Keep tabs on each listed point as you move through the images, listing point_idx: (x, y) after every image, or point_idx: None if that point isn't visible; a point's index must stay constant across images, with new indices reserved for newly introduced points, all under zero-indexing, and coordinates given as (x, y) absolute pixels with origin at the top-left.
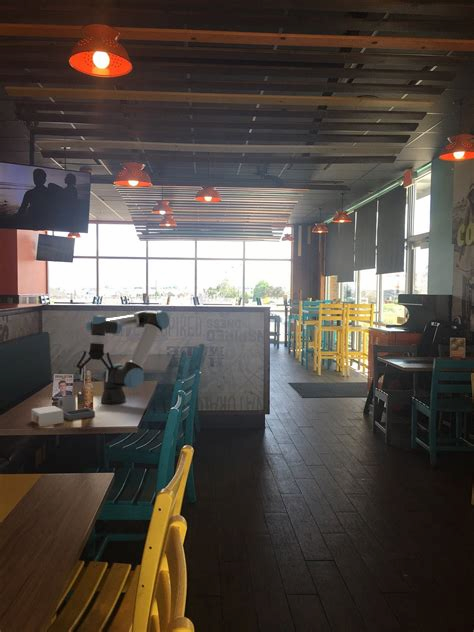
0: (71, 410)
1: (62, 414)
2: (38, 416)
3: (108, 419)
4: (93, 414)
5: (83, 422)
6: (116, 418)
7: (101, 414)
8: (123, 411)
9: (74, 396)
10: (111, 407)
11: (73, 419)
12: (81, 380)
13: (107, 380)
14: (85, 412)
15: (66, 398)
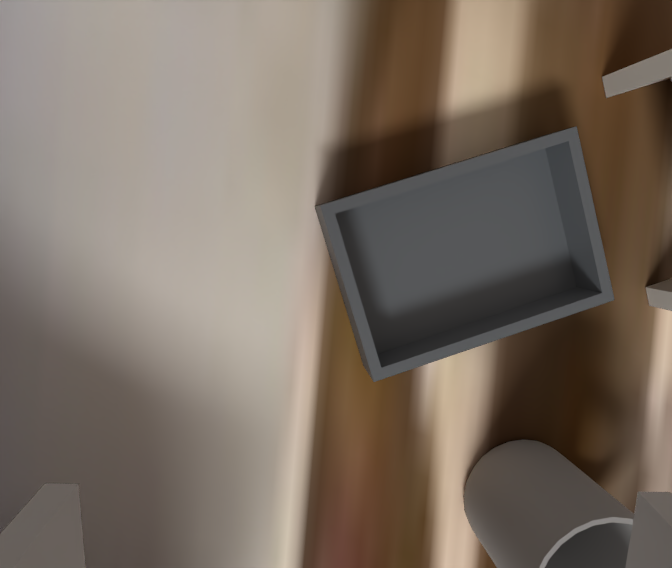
0: (511, 450)
1: (664, 52)
2: None
3: (194, 25)
4: (331, 201)
5: (438, 5)
6: (108, 33)
7: (244, 276)
8: (7, 329)
9: (547, 553)
10: (120, 549)
11: (515, 144)
12: (658, 494)
13: (27, 505)
14: (418, 181)
15: (630, 515)
